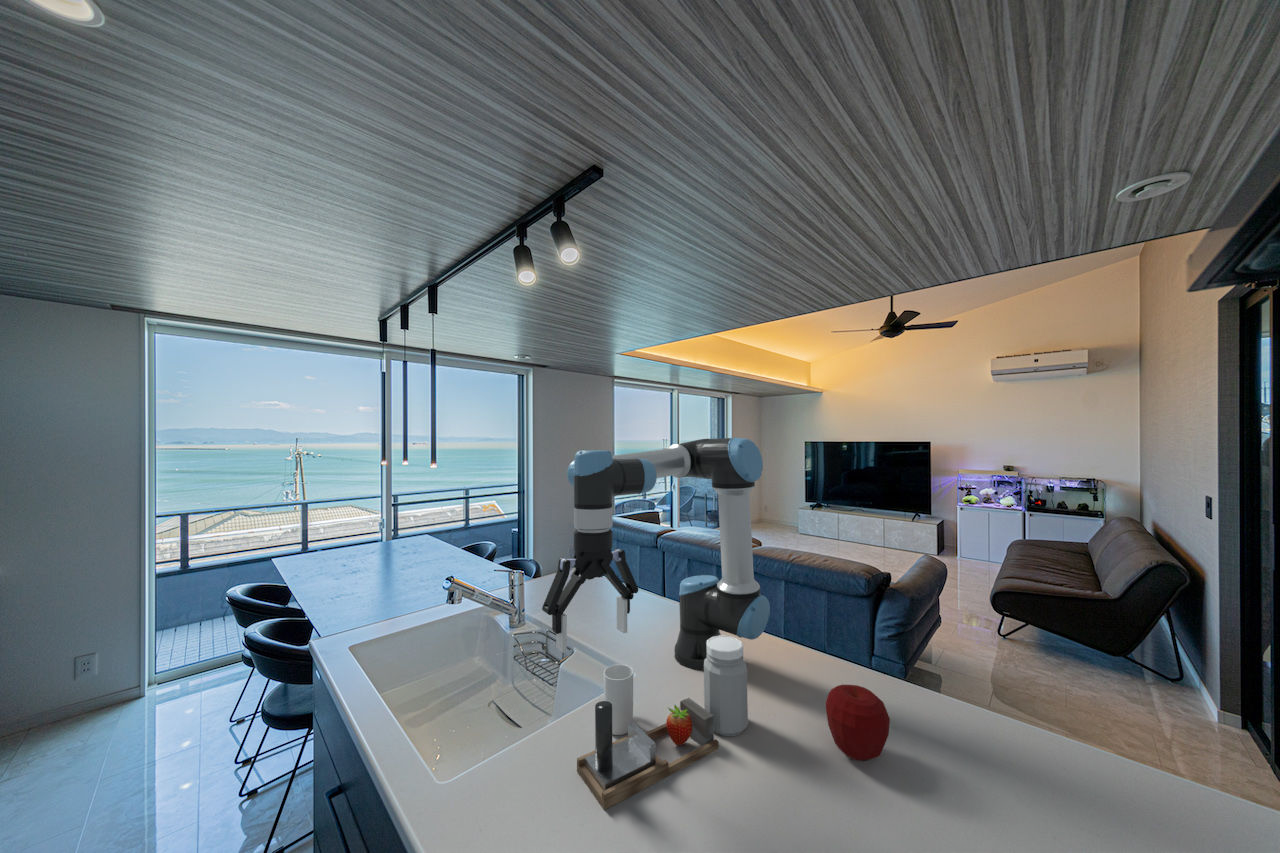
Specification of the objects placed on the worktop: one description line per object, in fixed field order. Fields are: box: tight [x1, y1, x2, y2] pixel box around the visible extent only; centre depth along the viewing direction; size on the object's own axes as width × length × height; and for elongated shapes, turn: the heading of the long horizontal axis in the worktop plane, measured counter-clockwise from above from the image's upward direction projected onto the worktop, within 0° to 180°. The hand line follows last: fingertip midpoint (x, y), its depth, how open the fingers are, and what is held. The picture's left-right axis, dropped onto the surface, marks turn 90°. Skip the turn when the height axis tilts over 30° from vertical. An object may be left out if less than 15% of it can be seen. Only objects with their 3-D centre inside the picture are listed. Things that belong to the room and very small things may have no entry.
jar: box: [703, 634, 749, 737], centre depth 99 cm, size 10×10×18 cm
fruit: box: [666, 704, 692, 746], centre depth 92 cm, size 5×5×8 cm
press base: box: [576, 697, 720, 811], centre depth 88 cm, size 27×11×6 cm, turn 124°
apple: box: [825, 684, 891, 762], centre depth 89 cm, size 12×12×13 cm
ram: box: [585, 700, 657, 790], centre depth 84 cm, size 11×8×12 cm
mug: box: [603, 663, 634, 736], centre depth 100 cm, size 10×7×12 cm, turn 160°
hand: (593, 640), depth 85 cm, fingers open, 13 cm apart
